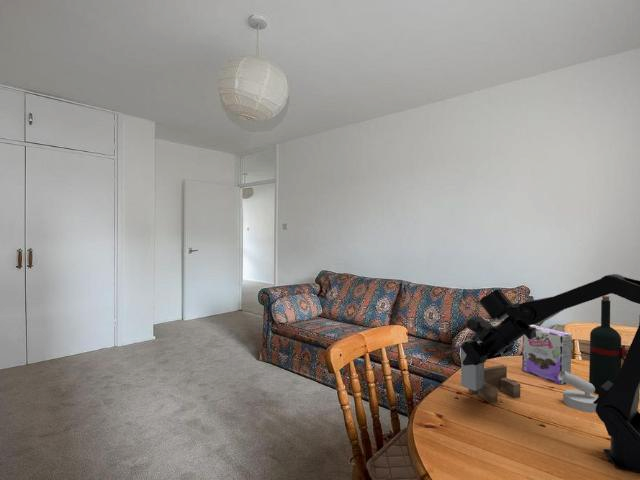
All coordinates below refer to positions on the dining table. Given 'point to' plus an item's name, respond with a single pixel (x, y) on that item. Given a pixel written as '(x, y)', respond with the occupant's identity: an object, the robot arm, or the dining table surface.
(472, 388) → the grey square pillar
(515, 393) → the bench
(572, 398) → the wall hook
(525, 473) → the dining table surface
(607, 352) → the wine bottle
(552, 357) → the candy box
